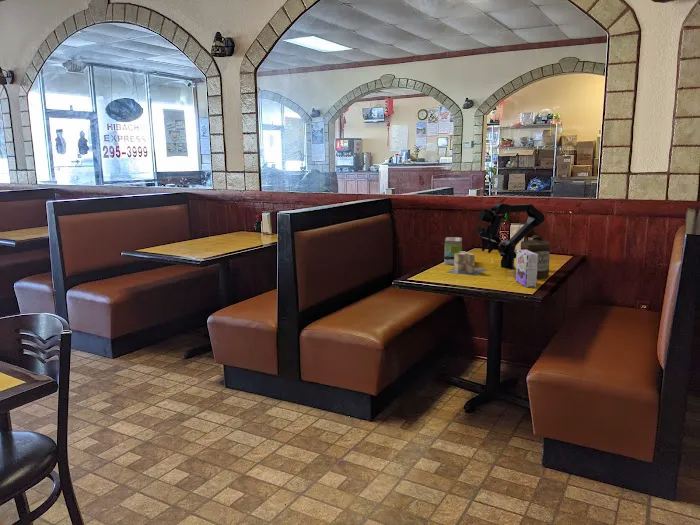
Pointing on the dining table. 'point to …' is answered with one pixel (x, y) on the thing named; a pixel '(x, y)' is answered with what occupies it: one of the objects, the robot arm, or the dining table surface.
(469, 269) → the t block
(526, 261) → the candy box
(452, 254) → the tea box
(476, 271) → the push board
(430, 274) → the dining table surface
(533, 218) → the robot arm
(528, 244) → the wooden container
